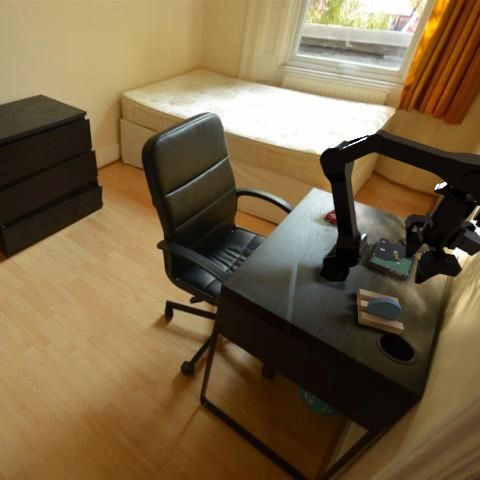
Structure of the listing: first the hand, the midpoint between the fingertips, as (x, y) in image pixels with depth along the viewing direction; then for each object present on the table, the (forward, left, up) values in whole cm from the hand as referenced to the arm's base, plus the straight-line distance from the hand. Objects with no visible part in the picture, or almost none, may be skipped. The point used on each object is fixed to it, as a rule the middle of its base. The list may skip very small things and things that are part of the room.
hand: (412, 269), depth 79 cm
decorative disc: (+11, +31, -13) cm, 36 cm away
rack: (-3, -5, -13) cm, 14 cm away
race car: (-11, +38, -13) cm, 42 cm away
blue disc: (-3, -7, -12) cm, 14 cm away
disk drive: (+3, +19, -13) cm, 24 cm away
